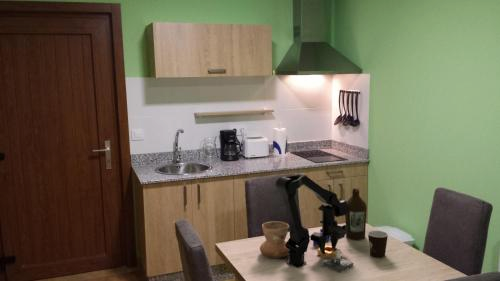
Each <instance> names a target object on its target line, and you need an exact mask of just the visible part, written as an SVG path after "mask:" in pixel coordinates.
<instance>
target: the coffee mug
mask: <svg viewBox="0 0 500 281" xmlns="http://www.w3.org/2000/svg"><path fill="white" fill-rule="evenodd" d="M388 235H389V234H388V233H387V232H386V231H382V230H371V231H368V232H367V237H368V239H367V240H368V245H369V246H368V247H369V248H368V249H369V256H370V257H371V258H375V259H381V258H382V259H384V258H385V257H386V250H387V243H388V238H389V236H388Z"/></svg>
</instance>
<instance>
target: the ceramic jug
mask: <svg viewBox="0 0 500 281" xmlns="http://www.w3.org/2000/svg"><path fill="white" fill-rule="evenodd" d="M261 227H262V232H263V236H264V238H265V241H264V242H262V243H261V245H260V246H259V251H260V253H261V254H262V255H263V256H265V258H266V257H267V258H269V259H270V258H271V259H282V258H285V257H286V256H289V251H290V249H287V248H286V246H285V244H286V242H287V241H286V238H287V235H288V233H289V229H290V225H289V224H288V223H287V222H283V221H278V220H272V221H267V222H264V223H262V225H261Z"/></svg>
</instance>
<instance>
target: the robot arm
mask: <svg viewBox="0 0 500 281" xmlns="http://www.w3.org/2000/svg"><path fill="white" fill-rule="evenodd" d="M302 186H303V187H304V188H306V189H307V190H309V191H310V192H311V193H313V194H314V195H315V196H316V198H317V199H318V200H319V202H321V203H323V204H321V205H320V206H318V209H317V210H318V211H321V220H319V223H320V224H321V228H320V230H319V232H317V231H315V232H316V233H314V232H313V233H314V234H313V233H312V234H310V230H309V228H306V227H303V223H302V220H301V216H300V213H299V212H300V211H299V208H298V204H297V200H296V193H297V189H300V188H302ZM275 187H276V189H277V191H278V194H279V195H280V196H281V197H282V199H283V202H284V205H285V206H284V207H285V209H286V214H287V217H288V221H289V224H290V225H289V226H290V231H289V238H288V240H287V241H286V244H285V246H286V248H287V249H290V251H289V255H288V261H286V262H285V263H286V264H287V265H289V266H292V267H294V268H300V267H302V266H305V265H307V263H308V262H307V261H305V253H306V252H308V248H309V244H310V242H311V241H312V242H313V241H315V242H316V243H317V244H318V249H319V248H320V250H321V252H322V254H325V246H326V244H327V243H328V240H327V241H325V240H326V237H327V236H330V238H329V240H330V244H331V247H334V248H337V245H338V242H339V240H341V239H343V238H346V234H347V233H348V232H347V231H348V229H347V226H346V224H343V225H338V221H337V220H336V218H339V217H345V215H348V214H349V212H350V209H349V206H348V205H347V204H346V202H347V200H340V199H339V198H338V195H337V193H335V192H333V191H330V190H328V189H325V188H324V187H322V186H321V185H319V184H318V183H317V182H315V181H314V180H313V179H312V178H310V177H309V176H308V175H307V174H303V173H296V174H294V175H292V174H291V175H287V176H280V177H278V178H277V179H276V181H275ZM324 204H325V205H324ZM320 232H322V234H321V233H320Z"/></svg>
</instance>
